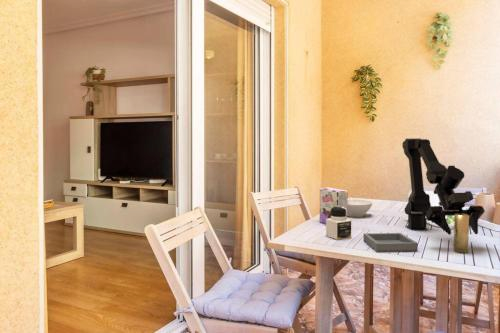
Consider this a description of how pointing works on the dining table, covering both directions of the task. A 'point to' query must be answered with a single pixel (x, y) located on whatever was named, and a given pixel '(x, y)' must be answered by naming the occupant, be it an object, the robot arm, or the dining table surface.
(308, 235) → the dining table surface
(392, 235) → the tray
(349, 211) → the bowl
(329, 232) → the medicine bottle
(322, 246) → the dining table surface
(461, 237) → the golden metal cylinder
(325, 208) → the candy box
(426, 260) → the dining table surface
